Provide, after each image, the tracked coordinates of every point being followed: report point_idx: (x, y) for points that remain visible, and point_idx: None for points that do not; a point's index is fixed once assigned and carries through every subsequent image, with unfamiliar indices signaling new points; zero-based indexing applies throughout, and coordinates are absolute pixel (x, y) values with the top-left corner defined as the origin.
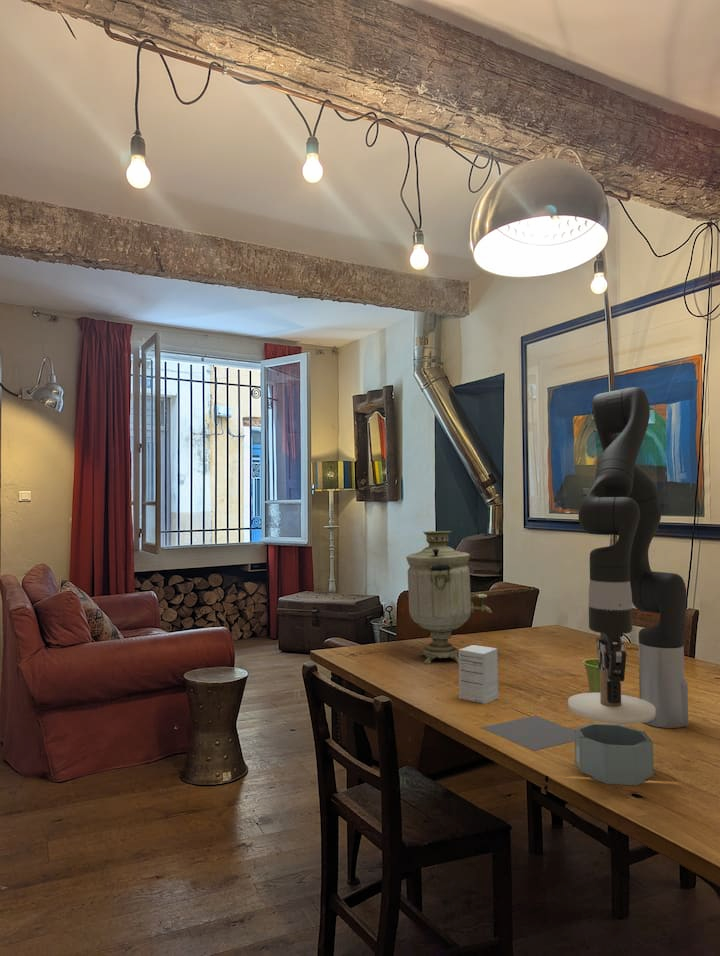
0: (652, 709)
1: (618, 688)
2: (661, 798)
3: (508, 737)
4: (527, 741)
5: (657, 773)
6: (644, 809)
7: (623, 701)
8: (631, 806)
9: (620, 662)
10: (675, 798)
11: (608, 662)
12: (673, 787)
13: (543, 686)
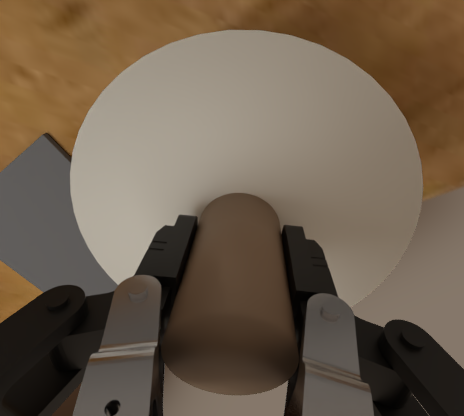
0: (329, 68)
1: (332, 285)
2: (407, 81)
3: (109, 285)
4: None
5: (258, 29)
6: (447, 140)
7: (195, 168)
8: (427, 161)
9: None
10: (415, 43)
11: (159, 402)
12: (352, 19)
13: None
